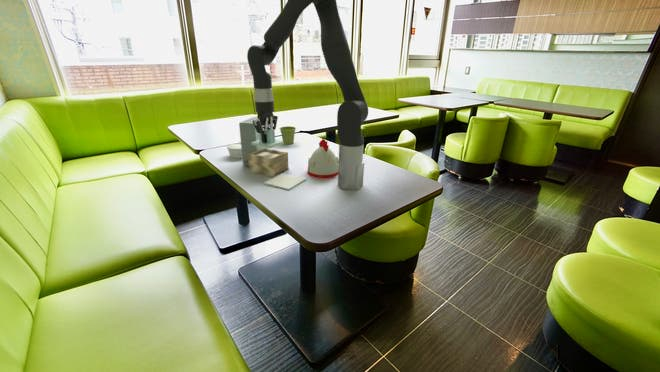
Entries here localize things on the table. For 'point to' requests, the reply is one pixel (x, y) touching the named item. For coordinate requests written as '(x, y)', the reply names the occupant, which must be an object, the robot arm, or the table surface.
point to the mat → (285, 181)
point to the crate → (268, 162)
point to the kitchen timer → (323, 162)
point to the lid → (268, 140)
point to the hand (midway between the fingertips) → (267, 141)
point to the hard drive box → (248, 139)
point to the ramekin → (235, 150)
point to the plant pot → (288, 134)
